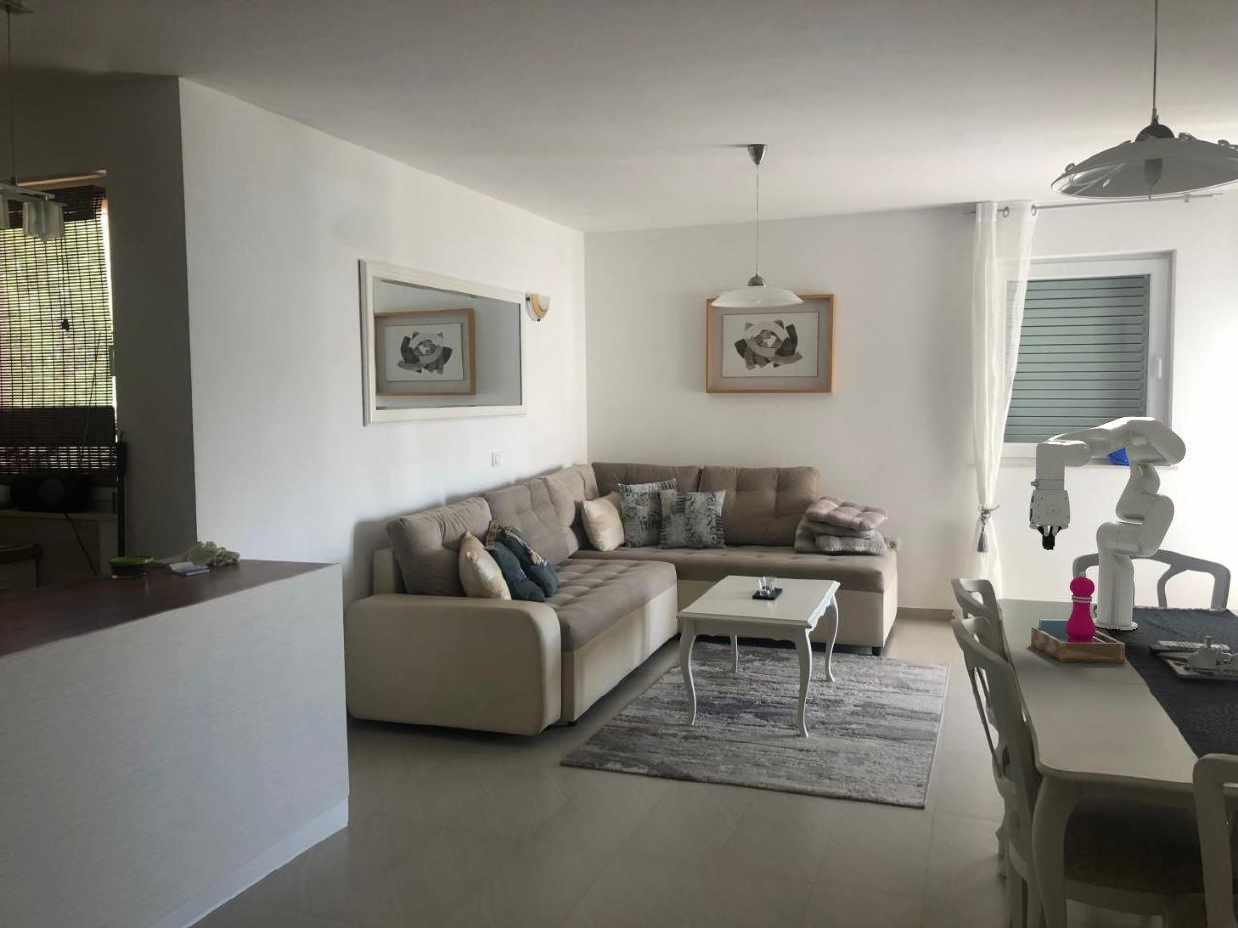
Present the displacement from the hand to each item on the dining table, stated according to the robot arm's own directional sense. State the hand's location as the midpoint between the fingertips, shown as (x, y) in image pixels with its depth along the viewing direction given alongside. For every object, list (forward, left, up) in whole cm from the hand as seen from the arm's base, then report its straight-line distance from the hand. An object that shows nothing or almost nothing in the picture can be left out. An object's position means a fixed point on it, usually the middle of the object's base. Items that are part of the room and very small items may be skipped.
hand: (1048, 549), depth 282 cm
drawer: (+20, 0, -24) cm, 31 cm away
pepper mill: (+22, 0, -23) cm, 32 cm away
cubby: (+21, 0, -25) cm, 33 cm away
